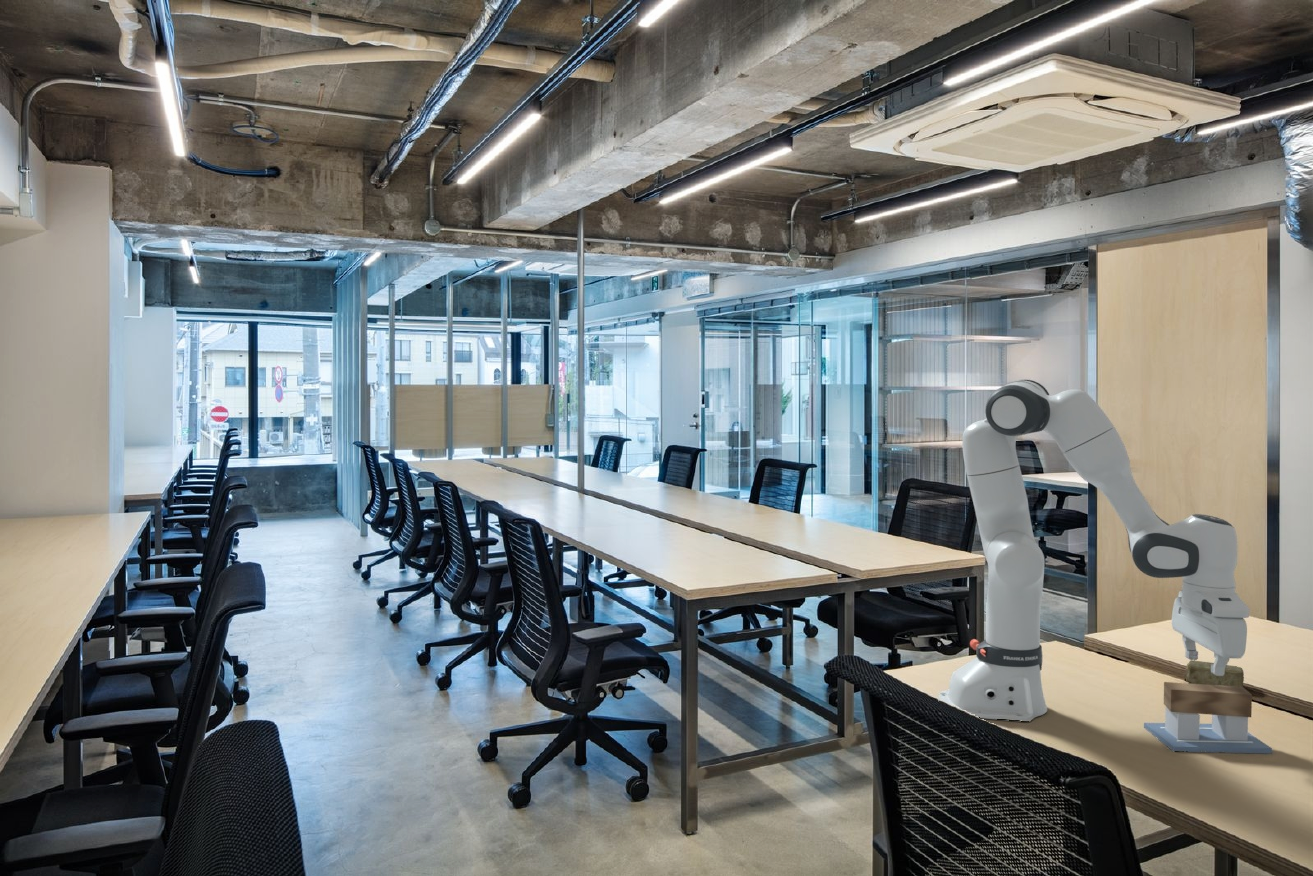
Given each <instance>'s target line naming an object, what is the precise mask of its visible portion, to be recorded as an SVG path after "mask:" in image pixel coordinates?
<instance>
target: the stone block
mask: <svg viewBox="0 0 1313 876" xmlns="http://www.w3.org/2000/svg"><path fill="white" fill-rule="evenodd" d="M1211 664H1214V662H1209V661H1203V660H1201V661H1200V660H1189V662H1187V664H1186V667H1185V681H1186V682H1187V683H1189V684H1206V685H1222V686H1238V687H1243V688H1244V681H1245V677H1244V676H1245V675H1244V674H1245V673H1244V670H1243V667H1241V666H1238V665H1237V666H1236V665H1229V664H1227V665H1226V667H1225V673H1224V675H1223V676H1216V675H1215V674H1213V673H1212V672H1211ZM1186 682H1185V683H1186Z"/></svg>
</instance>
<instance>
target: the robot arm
mask: <svg viewBox="0 0 1313 876" xmlns="http://www.w3.org/2000/svg"><path fill="white" fill-rule="evenodd" d="M984 413H985V419H980V420H978V421H975V422H973V423H970V424H969V425H968V426H967V427H966V428H965V429H964V430H963V433H962V437H961V438H962V439H961V441H962V455H963V462H964V464H963V465H964V469H965V473H966V477H967V482H968V486H969V491H970V495H971V499H972V502H973V507H974V512H975V517H976V520H977V521H976V522H977V525H978V527H977V528H978V532H979V535H980V541H981V545H982V549H983V554H984V557H985V560H986V562H987V568H988V569H987V570H988V573H987V574H988V576H987V593H986V603H985V639H984V640H983V641H981V642H979V640H978V639H975V638H973V639H971V640H970V642H969V646H970V648H972V649H973V650H974V651H976V654H975V655H976V656H975V657H974V658H972V659H971V660H969V661H968V662H967V663H965V664H964V665H962V666H960V667H959V668H957V669H955V670H954V671H953V673H952V674H951V677H950V679H949V685H948V689H946V690H944V689H943V690H941V691H940V692H939V693H938V698H937V699H939V700H943V701H945V702H946V703H948V704H950V705H954V706H956V707H958V708H960V709H961V710H966V711H967V712H969V713H971V714H975V716H978V717H980V718H979V719H986V720H997V719H1013V720H1022V721H1029V722H1031V720H1032V719H1033V720H1034V718H1037V717H1040V716H1042V715H1045V714H1046V713H1047V712H1048V706H1047V704H1046V700H1045V695H1044V690H1043V684H1042V676H1041V675H1042V674H1041V671H1042V669H1043V668H1042V667H1043V648H1042V645H1041V642H1040V641H1041V639H1040V638H1041V606H1042V605H1041V604H1042V598H1043V597H1042V596H1043V590H1044V589H1043V588H1044V576H1045V564H1046V563H1045V555H1044V553H1043V550H1042V549H1041V548H1040V547H1039V545H1038V543H1037V541H1036V540H1035V535H1034V532H1033V527H1032V519H1031V514H1030V508H1029V501H1028V495H1027V492H1026V486H1025V482H1024V479H1023V474H1022V470H1021V467H1020V462H1019V459H1018V454H1017V448H1016V447H1017V446H1016V441H1017V439H1018V437H1019V436H1024V435H1028V434H1033V433H1034V434H1035V433H1040V432H1042V431H1044V432H1046V433H1048V435H1050V436H1051V438H1052V439H1053V440H1054V442H1055V443H1056V445H1057V446H1058V448H1059V450H1060V452H1061V453H1062V455H1063V457H1064V458H1065V459H1066V461H1067V462H1068V464H1069V465H1070V466H1071V468H1072V469H1074V471H1075V473H1077V474H1078V476H1080V477H1081V479H1083V481H1085V482H1087V483H1089V484H1091V485H1092V486H1093V487H1095V488H1096V489H1098V490H1099V491H1100V492H1102V493H1101V494H1103V495H1104V496H1105V497H1106V499H1107V500H1108V502H1109V503H1110V506H1112V508H1113V510H1114V511H1115V513H1116V514H1117V516H1118V517H1119V519H1120V520H1121V522H1122V524H1123V526H1124V528H1125V530H1126V533H1127V540H1128V548H1129V551H1130V554H1131V556H1132V560H1133V563H1134V564H1135V566H1136V567H1137V569H1138V570H1139V571H1141V572H1142V573H1143V574H1144V575H1147V576H1149V577H1152V578H1157V579H1167V578H1168V579H1169V578H1170V579H1171V578H1173V579H1174V578H1182V587H1181V590H1179V592H1178V596H1177V597H1175V599H1174V601H1173V606H1172V613H1171V627H1172V629H1173V631H1175V632H1177V633H1179V634H1181V635H1182V643H1183V647H1184V649H1185V653H1184V657H1185V659H1188V660H1189V661H1191V660H1193V661H1194V660H1195V661H1198V659H1199V651H1198V650H1197V646H1196V643H1197V644H1198V645H1200V646H1202V647H1204V648H1206V649H1208V650H1209V651H1211V652H1213V653H1214V654H1213V658H1214V659H1215V660H1214V662H1213V663H1214V664H1211V672H1212V673H1213V674H1215V675H1216V676H1223V675H1224V673H1225V667H1226V665H1228V663H1229V662H1230V659H1236V660H1237V659H1238V660H1239V659H1242V658H1243V656H1245V653H1246V648H1247V637H1248V625H1247V622H1246V620H1245V619H1247V618H1249V617H1250V608H1249V606H1248V605H1247V604H1246V603H1245V602H1244V601H1243V599H1242V598H1241V597H1240V595H1238V593H1237V592H1236V587H1237V586H1236V580H1235V575H1234V574H1235V570H1236V567H1237V563H1238V536H1237V531H1236V529H1235V527H1234V526H1233V525H1232V524H1231V523H1230V522H1228V521H1227V520H1225V519H1223V518H1220V517H1218V516H1217V517H1216V516H1213V515H1207V514H1201V513H1195V514H1191V515H1190V516H1189V517H1187V518H1185V519H1183V520H1180V521H1177V522H1175V523H1172V524H1169V523H1168V522H1166V521H1165V520H1163V519H1162V518H1160V517H1159V516H1158V515H1157V514H1156V512H1155V511H1154V510H1153V508H1152V506H1151V505H1150V504H1149V502H1148V500H1147V499H1146V497H1145V496H1144V494H1143V493H1142V491H1141V489H1140V488H1139V487H1138V485H1137V483H1136V481H1135V479H1134V476H1133V474H1132V470H1131V469H1132V468H1131V462H1130V458H1129V453H1128V451H1127V448H1126V446H1125V443H1124V441H1123V439H1122V438H1121V436H1120V434H1119V431H1118V430H1117V429H1116V427H1115V426H1114V425H1113V422H1112V421H1111V420H1110V417H1108V416H1107V414H1106V412H1104V410H1103V409H1102V408H1101V407H1100V406H1099V404H1098V403H1097V402H1096V401H1095V400H1094V399H1093V398H1092V396H1090V395H1089V394H1088V393H1087V392H1086V391H1084V390H1083V389H1082V390H1081V389H1079V388H1071V389H1066V390H1063V391H1060V392H1058V393H1056V394H1053V395H1050V393H1049V392H1048V390H1047V389H1046V387H1045V386H1043V385H1042V384H1041V383H1039V382H1037V381H1035V380H1031V379H1019V380H1014V381H1010V382H1008V383H1005V384H1004V385H1002V386H1001V387H999V388H997V389H996V390H995V391H994V392H992V394H990V396H989V398H988V399H987V402H986V405H985V412H984ZM939 700H938V701H939ZM1033 720H1032V721H1033Z"/></svg>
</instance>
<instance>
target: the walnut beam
mask: <svg viewBox="0 0 1313 876" xmlns="http://www.w3.org/2000/svg"><path fill="white" fill-rule="evenodd" d="M1252 702H1253V694H1252V693H1251V692H1249V690H1247V689H1246V688H1245V687H1244V686H1243V687H1238V686H1222V685H1206V684H1192V683H1189V682H1187V683H1186V682H1174V681H1173V682H1172V681H1170V682H1169V681H1168V682H1167V681H1164V682H1163V705H1164V706H1165V708H1166V707H1167V708H1168V709H1169V710H1170V711H1171V712H1181V713H1195V714H1199V715H1211V716H1212V715H1224V716H1239V717H1248V718H1252V707H1253V706H1252Z"/></svg>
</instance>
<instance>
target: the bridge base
mask: <svg viewBox="0 0 1313 876" xmlns="http://www.w3.org/2000/svg"><path fill="white" fill-rule="evenodd" d="M1164 713H1165V715H1164V716H1165V717H1164V720H1165V722H1144V723H1143V728H1144V729H1145V728H1146V729H1147V731H1148V732H1149V733H1150V732H1151V733H1152V734H1151V733H1150V734H1151V735H1153V737H1155V738H1156V737H1157V738H1158V739H1157V738H1156V739H1157V740H1158V741H1159V742H1161V743H1162V742H1163V743H1164V744H1163V743H1162V744H1163V745H1165V746H1166V747H1167V746H1168V747H1169V748H1168V747H1167V748H1168V749H1169V750H1170V751H1172V752H1173V751H1184V752H1183V753H1219V752H1225V754H1226V753H1227V754H1228V753H1230V754H1231V753H1234V754H1236V753H1237V754H1273V748H1272V747H1271V746H1269V745H1268V744H1266V743H1265V742H1263V741H1261V740H1260V739H1259V738H1257V737H1256V736H1254V735H1252V734H1251V733H1250V732H1249V731H1248V730H1249V717H1239V716H1224V715H1211V723H1200V717H1201V716H1200V715H1201V714H1195V713H1181V712H1171V711H1170V710H1169V709H1168V708H1167V707H1166V706H1165V712H1164ZM1146 729H1145V730H1146ZM1186 751H1188V752H1186ZM1200 751H1202V752H1200ZM1205 751H1206V752H1205Z"/></svg>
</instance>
